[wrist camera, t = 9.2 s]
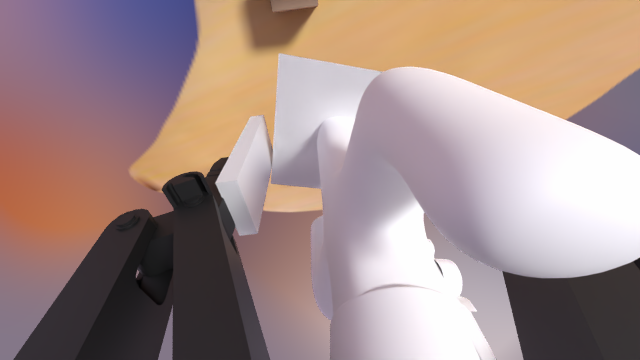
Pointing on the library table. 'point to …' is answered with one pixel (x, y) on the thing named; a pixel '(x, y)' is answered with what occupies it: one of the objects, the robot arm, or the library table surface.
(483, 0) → the library table surface
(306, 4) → the walnut block
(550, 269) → the figurine
